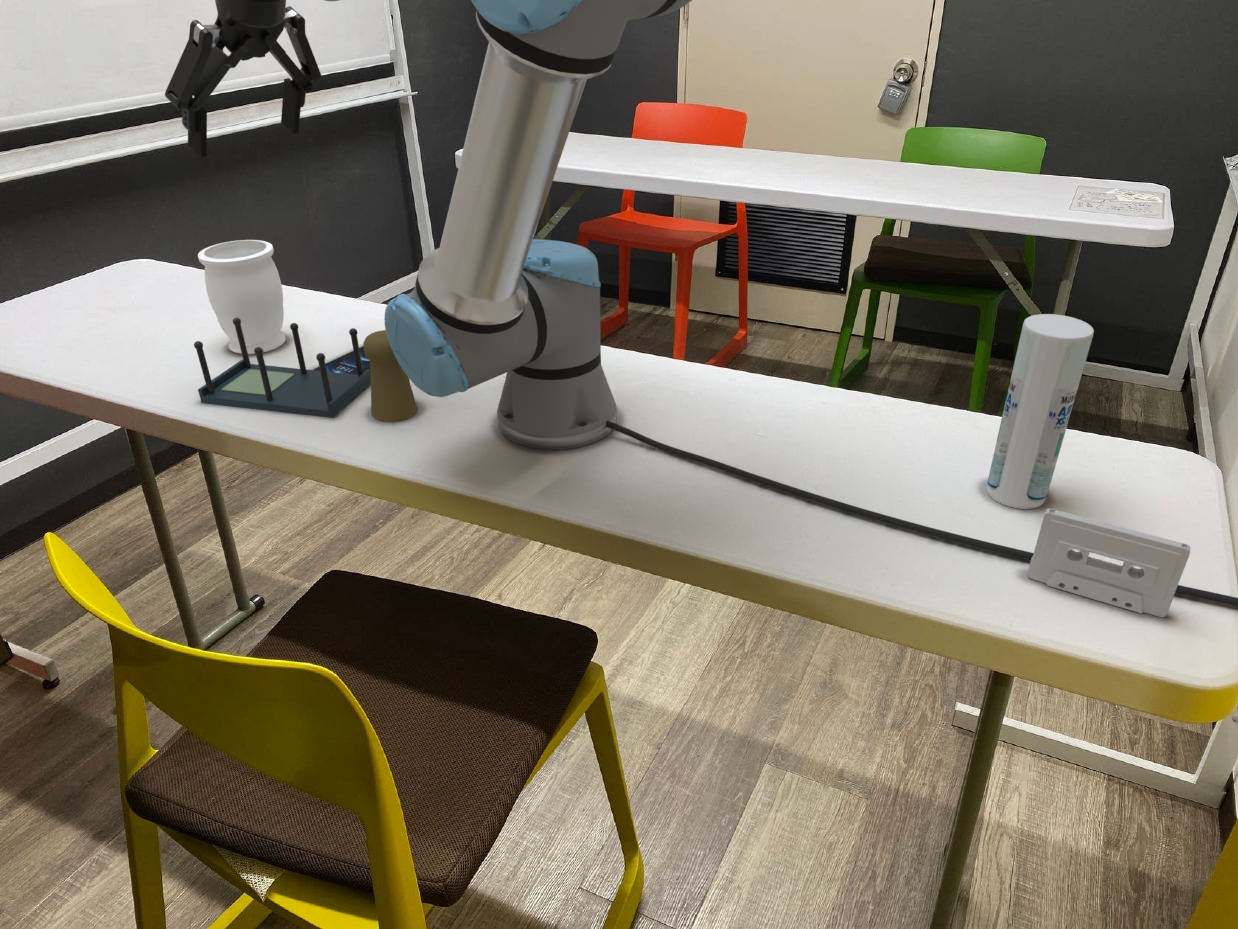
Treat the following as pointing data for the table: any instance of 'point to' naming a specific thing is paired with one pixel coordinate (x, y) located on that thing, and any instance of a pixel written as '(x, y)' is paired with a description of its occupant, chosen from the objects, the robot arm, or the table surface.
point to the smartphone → (347, 363)
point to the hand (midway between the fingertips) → (245, 139)
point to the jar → (245, 292)
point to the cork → (388, 381)
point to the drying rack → (283, 382)
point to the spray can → (1038, 408)
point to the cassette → (1108, 563)
